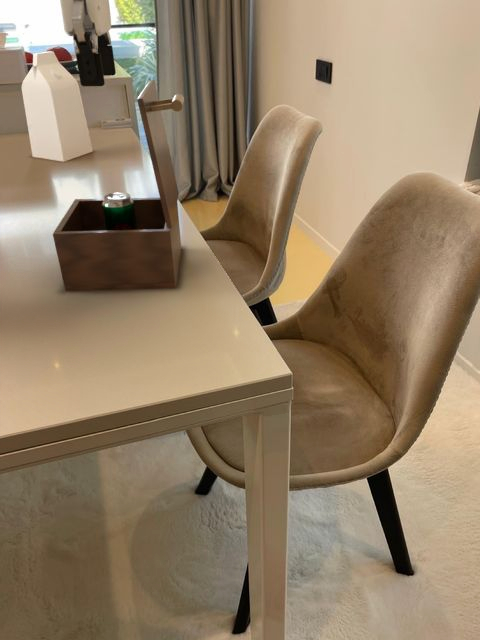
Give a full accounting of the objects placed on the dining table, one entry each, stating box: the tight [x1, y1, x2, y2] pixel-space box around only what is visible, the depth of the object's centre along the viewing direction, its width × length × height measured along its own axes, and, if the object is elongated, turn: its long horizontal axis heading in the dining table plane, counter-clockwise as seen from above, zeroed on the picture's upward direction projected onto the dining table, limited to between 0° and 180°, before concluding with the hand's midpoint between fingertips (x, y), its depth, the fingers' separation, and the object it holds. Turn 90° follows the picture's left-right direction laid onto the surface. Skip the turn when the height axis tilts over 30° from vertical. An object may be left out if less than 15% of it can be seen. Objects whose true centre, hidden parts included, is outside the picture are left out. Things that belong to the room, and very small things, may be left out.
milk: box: [21, 50, 93, 163], centre depth 154 cm, size 12×12×26 cm
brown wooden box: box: [52, 197, 182, 292], centre depth 96 cm, size 18×16×10 cm
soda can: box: [102, 191, 137, 230], centre depth 95 cm, size 5×5×12 cm
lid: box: [136, 79, 185, 229], centre depth 88 cm, size 19×16×5 cm
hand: (99, 80), depth 82 cm, fingers open, 9 cm apart
